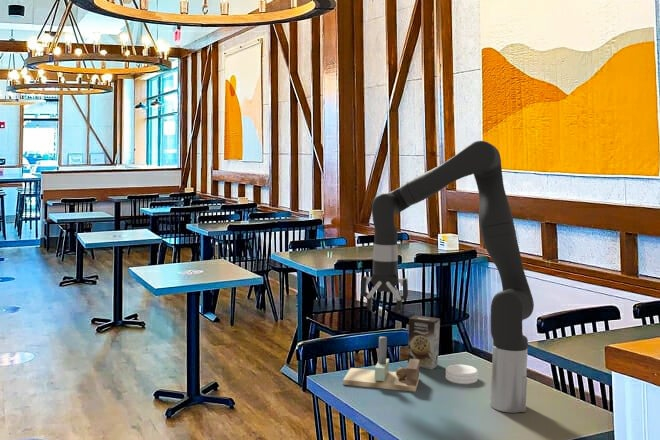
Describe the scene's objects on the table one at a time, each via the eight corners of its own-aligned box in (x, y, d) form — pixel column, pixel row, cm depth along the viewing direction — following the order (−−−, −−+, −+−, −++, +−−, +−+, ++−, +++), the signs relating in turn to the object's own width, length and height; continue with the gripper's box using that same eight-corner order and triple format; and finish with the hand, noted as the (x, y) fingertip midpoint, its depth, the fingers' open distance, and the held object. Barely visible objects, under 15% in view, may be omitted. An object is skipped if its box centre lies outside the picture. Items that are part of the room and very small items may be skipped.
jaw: (388, 371, 197) (389, 333, 196) (384, 381, 187) (385, 342, 186) (379, 370, 198) (380, 333, 197) (374, 380, 188) (375, 341, 187)
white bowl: (484, 382, 194) (484, 371, 194) (456, 386, 190) (457, 375, 190) (465, 373, 203) (466, 362, 203) (439, 376, 200) (439, 365, 199)
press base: (419, 378, 196) (419, 358, 195) (415, 391, 184) (416, 370, 184) (350, 372, 201) (351, 352, 200) (342, 384, 189) (343, 363, 189)
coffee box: (406, 365, 210) (408, 318, 208) (413, 360, 215) (414, 314, 214) (432, 369, 205) (434, 321, 204) (438, 364, 211) (440, 317, 210)
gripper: (409, 258, 192) (408, 310, 193) (364, 256, 195) (363, 307, 196) (407, 261, 184) (405, 315, 186) (360, 259, 188) (359, 312, 189)
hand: (384, 311), depth 191 cm, fingers open, 8 cm apart
